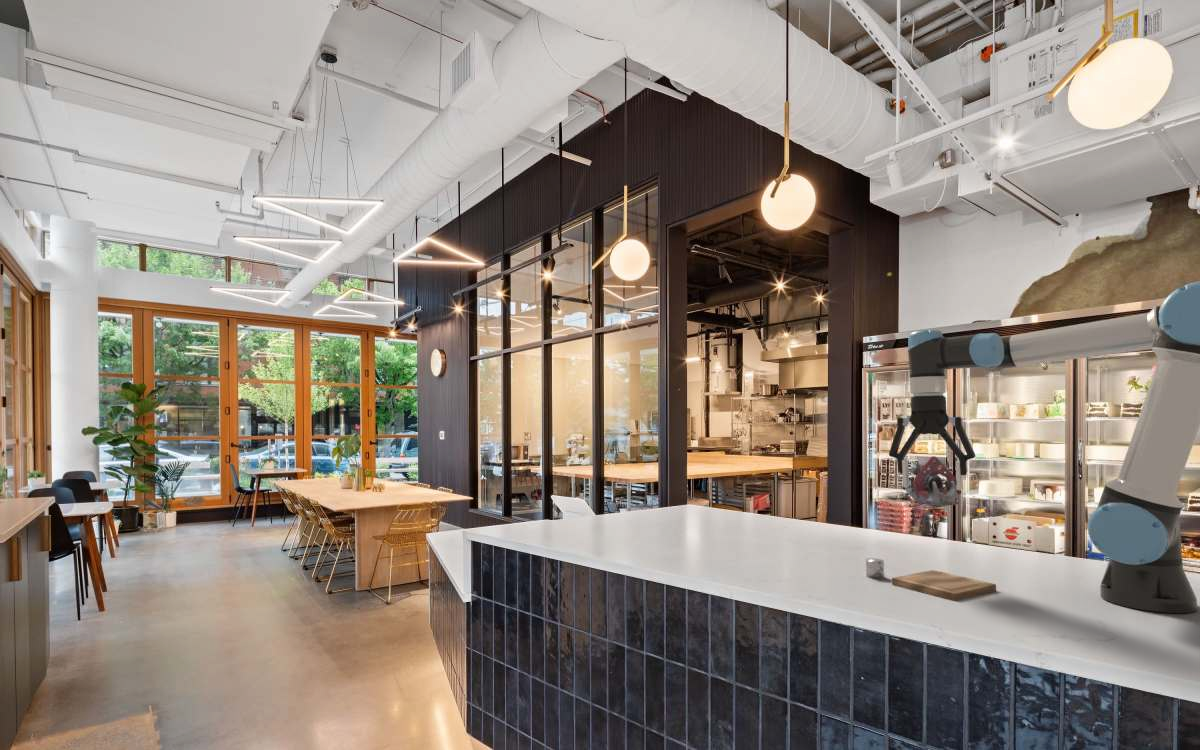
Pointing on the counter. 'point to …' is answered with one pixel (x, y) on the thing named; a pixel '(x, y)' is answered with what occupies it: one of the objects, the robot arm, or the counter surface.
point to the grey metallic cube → (874, 568)
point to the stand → (944, 584)
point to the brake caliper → (933, 484)
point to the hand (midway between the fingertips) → (932, 488)
